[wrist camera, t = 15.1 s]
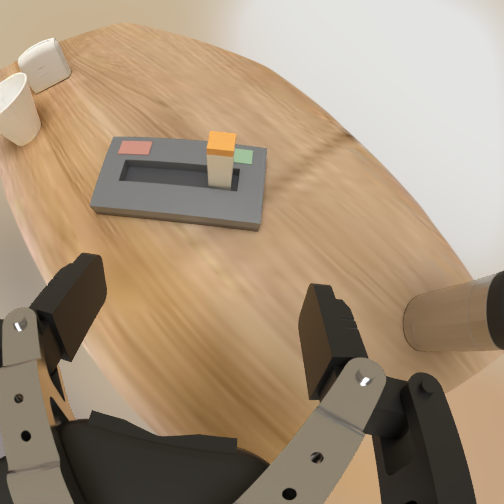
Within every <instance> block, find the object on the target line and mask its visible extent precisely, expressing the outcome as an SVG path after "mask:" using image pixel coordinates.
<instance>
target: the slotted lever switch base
mask: <svg viewBox="0 0 504 504" xmlns="http://www.w3.org/2000/svg"><path fill="white" fill-rule="evenodd" d="M207 144H208V141H198V140H185V139H170V138H149V137H113V139H112V142H111V144H110V147H109V150H108V152H107V155H106V158H105V160H104V163H103V166H102V169H101V172H100V175H99V177H98V181H97V184H96V187H95V190H94V193H93V196H92V200H91V203H90V207H91V208H92V209H93V210H94V211H95V212H96V213H97V214H103V215H114V216H124V217H134V218H144V219H154V220H163V221H172V222H182V223H191V224H200V225H208V226H217V227H225V228H234V229H242V230H250V231H258V229H259V227H260V224H261V213H262V202H263V191H264V179H265V167H266V156H267V148H260V147H253V146H245V145H237V144H235V154H234V164H233V174H232V182H231V190H230V191H229V190H220V189H211V188H209V186H208V168H207V149H206V148H207Z"/></svg>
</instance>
